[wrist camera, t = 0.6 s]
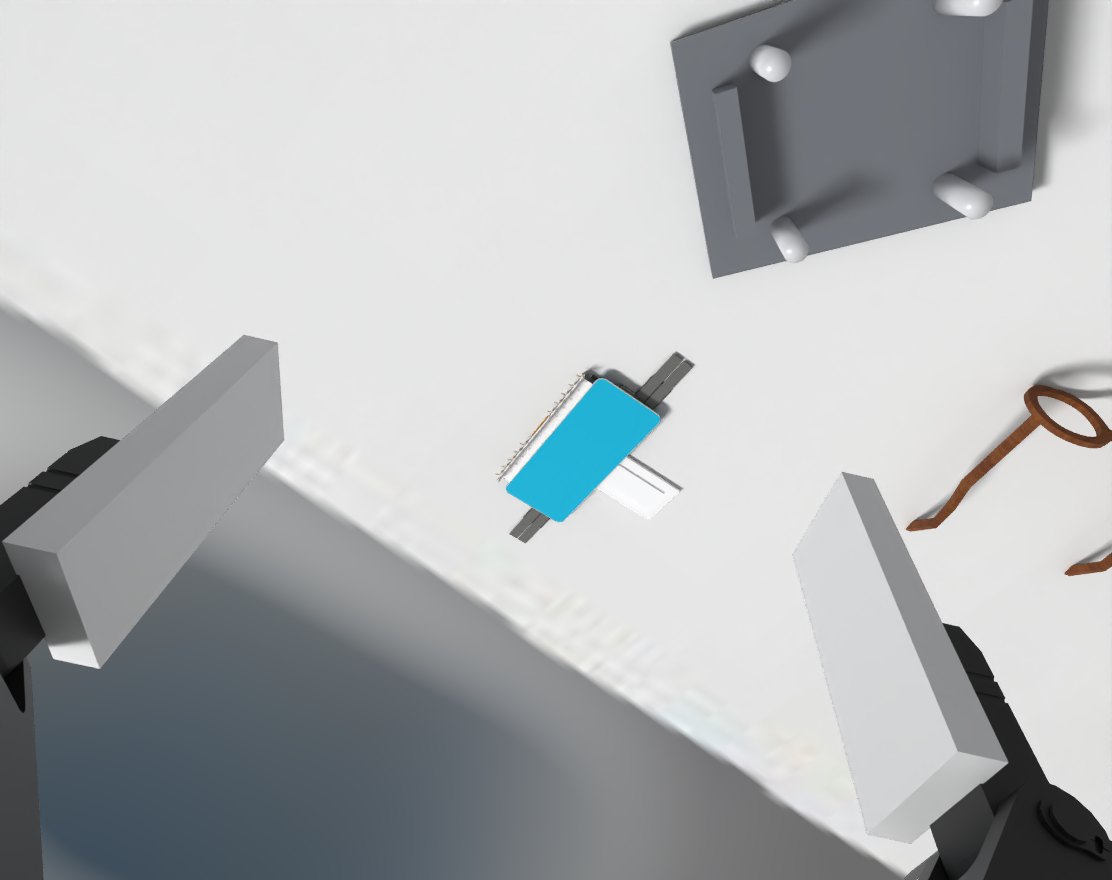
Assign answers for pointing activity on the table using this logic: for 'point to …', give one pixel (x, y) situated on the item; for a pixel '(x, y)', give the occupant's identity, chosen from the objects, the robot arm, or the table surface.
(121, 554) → the robot arm
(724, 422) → the table surface
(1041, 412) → the glasses
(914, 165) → the cradle
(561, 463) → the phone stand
